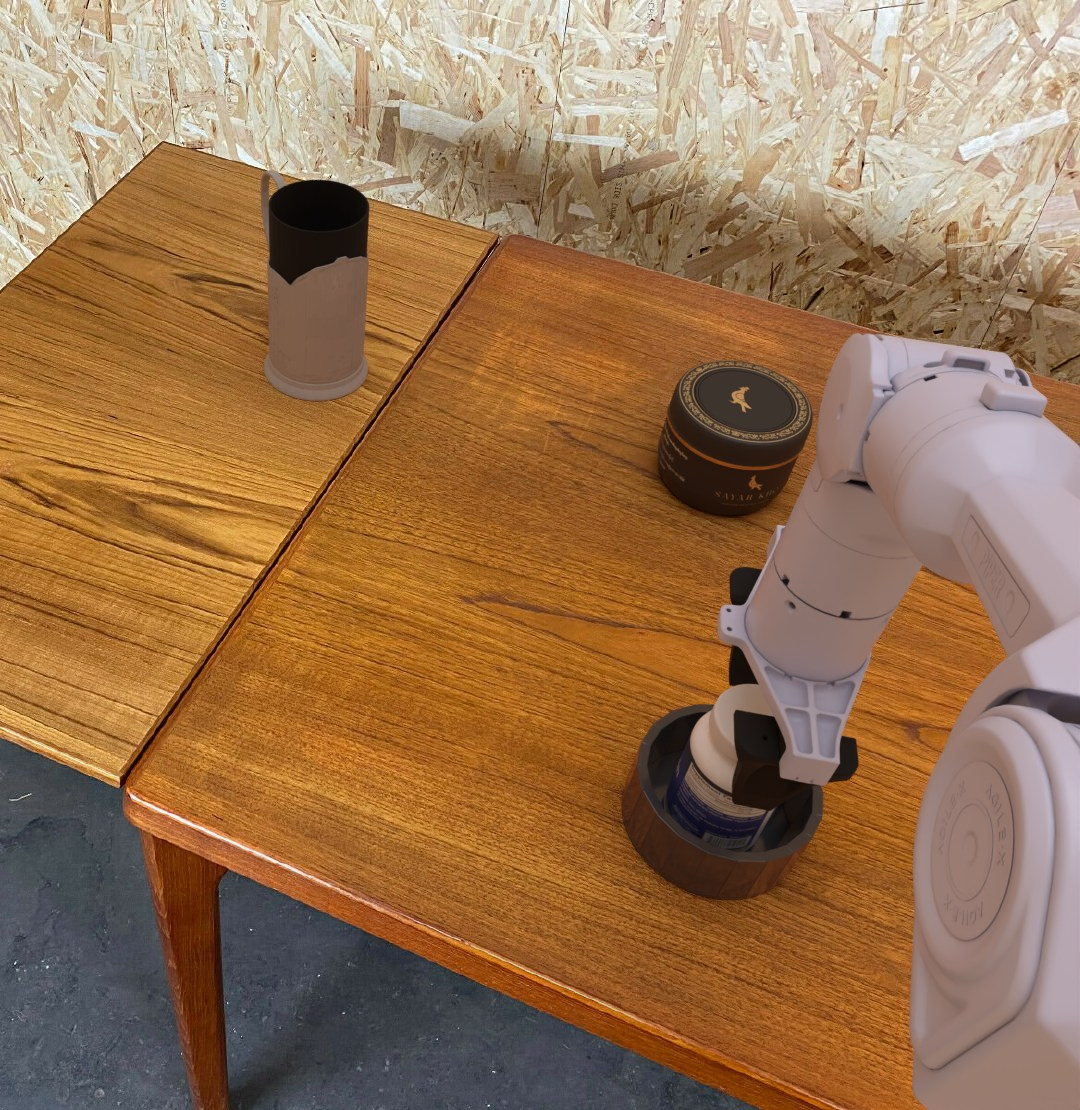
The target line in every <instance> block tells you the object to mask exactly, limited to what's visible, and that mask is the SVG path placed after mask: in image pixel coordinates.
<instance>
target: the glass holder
mask: <svg viewBox="0 0 1080 1110" xmlns="http://www.w3.org/2000/svg"><path fill="white" fill-rule="evenodd" d="M271 178H272V180H273V182H274V183H275V186H276V189H277V190H276V191H274V192H273V193H272V195H271V196H270V179H271ZM259 193H260V209H261V217H262V224H263V229H264V234H265V239H266V245H267V249H268V253H269V254H268V255H269V256H268V258H267V261H266V267H267V270H266V271H267V320H268V321H267V322H268V326H267V327H268V352H267V354H266V356H265V358H264V363H263V374H264V376H265V378H266V380H267V381H268V382H269V384H270V385H271V386H272V388H274V389H276V390H277V391H278V392H280V393H282V394H284V395H286V396H288V397H291V398H293V399H299V400H302V401H312V402H325V401H331V400H336V399H340V398H343V397H345V396H349V395H350V394H352V393H353V392H355V391H357V390H358V389H359V388H360V387H361V386H363V384H364V383H365V382H366V379H367V377H368V374H369V364H368V360H367V358H366V356H365V337H366V322H367V321H366V319H367V318H366V317H367V304H368V303H367V302H368V284H369V268H370V267H369V264H370V263H369V261H370V260H369V254H368V243H369V238H368V237H369V225H370V224H369V223H370V202H369V200H368V197H366V195H365V194H364V193H362V191H360V190H359V189H357V188H355V187H353V186H351V185H349V184H346V183H344V182H340V181H334V180H329V179H304V180H298V181H294V182H290V183H288V184H286V182H285V180H284V178H283V177H282V175H281V174H280V173H279V172H278V170H274V169H269V170H266V171H264V172H262V174H261V177H260V191H259Z"/></svg>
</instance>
